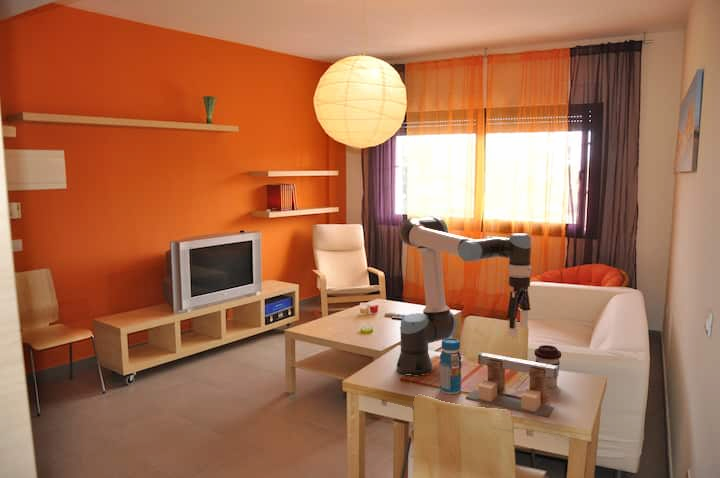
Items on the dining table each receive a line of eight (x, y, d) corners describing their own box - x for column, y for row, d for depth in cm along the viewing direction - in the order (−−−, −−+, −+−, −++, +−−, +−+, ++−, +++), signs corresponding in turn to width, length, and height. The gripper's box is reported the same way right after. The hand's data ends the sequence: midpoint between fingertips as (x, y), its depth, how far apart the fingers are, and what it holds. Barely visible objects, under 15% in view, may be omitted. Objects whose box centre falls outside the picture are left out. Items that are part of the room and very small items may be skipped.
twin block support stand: (465, 398, 206) (465, 384, 205) (473, 391, 213) (474, 377, 212) (547, 417, 190) (548, 401, 189) (553, 408, 196) (554, 393, 195)
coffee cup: (531, 386, 216) (532, 349, 214) (536, 378, 225) (537, 342, 223) (558, 391, 211) (559, 353, 209) (561, 382, 220) (563, 345, 218)
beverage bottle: (437, 393, 211) (437, 342, 209) (442, 384, 219) (442, 336, 216) (459, 396, 208) (459, 344, 206) (463, 387, 216) (463, 338, 213)
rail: (478, 363, 214) (478, 354, 213) (481, 360, 217) (481, 351, 216) (555, 378, 198) (556, 368, 197) (558, 375, 201) (558, 365, 200)
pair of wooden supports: (485, 391, 212) (486, 360, 210) (491, 386, 217) (491, 355, 215) (543, 404, 200) (544, 371, 198) (548, 398, 205) (549, 366, 203)
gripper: (519, 282, 190) (518, 342, 193) (539, 270, 211) (537, 324, 214) (498, 280, 194) (497, 339, 197) (519, 269, 215) (518, 322, 218)
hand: (518, 331), depth 205 cm, fingers open, 13 cm apart
